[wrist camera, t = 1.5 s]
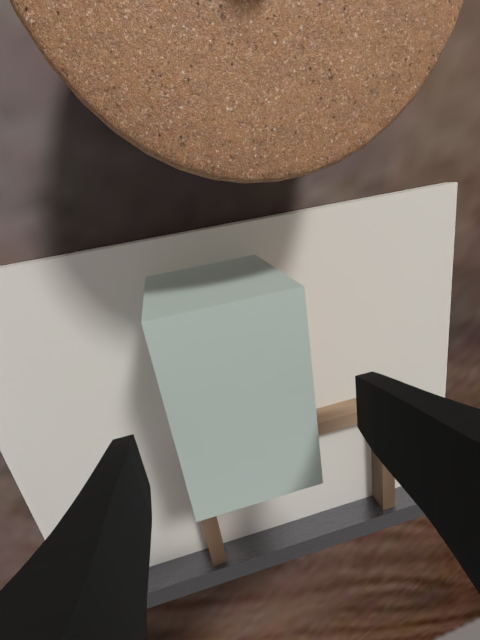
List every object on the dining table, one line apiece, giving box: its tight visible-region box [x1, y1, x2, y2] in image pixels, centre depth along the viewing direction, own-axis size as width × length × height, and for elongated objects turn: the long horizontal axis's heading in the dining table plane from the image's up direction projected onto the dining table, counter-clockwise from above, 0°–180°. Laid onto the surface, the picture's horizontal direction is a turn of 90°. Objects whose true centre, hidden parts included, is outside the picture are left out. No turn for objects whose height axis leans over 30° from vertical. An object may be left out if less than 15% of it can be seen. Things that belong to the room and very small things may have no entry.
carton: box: [141, 255, 323, 522], centre depth 15 cm, size 5×8×6 cm, turn 9°
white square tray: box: [0, 182, 458, 609], centre depth 19 cm, size 24×20×2 cm
